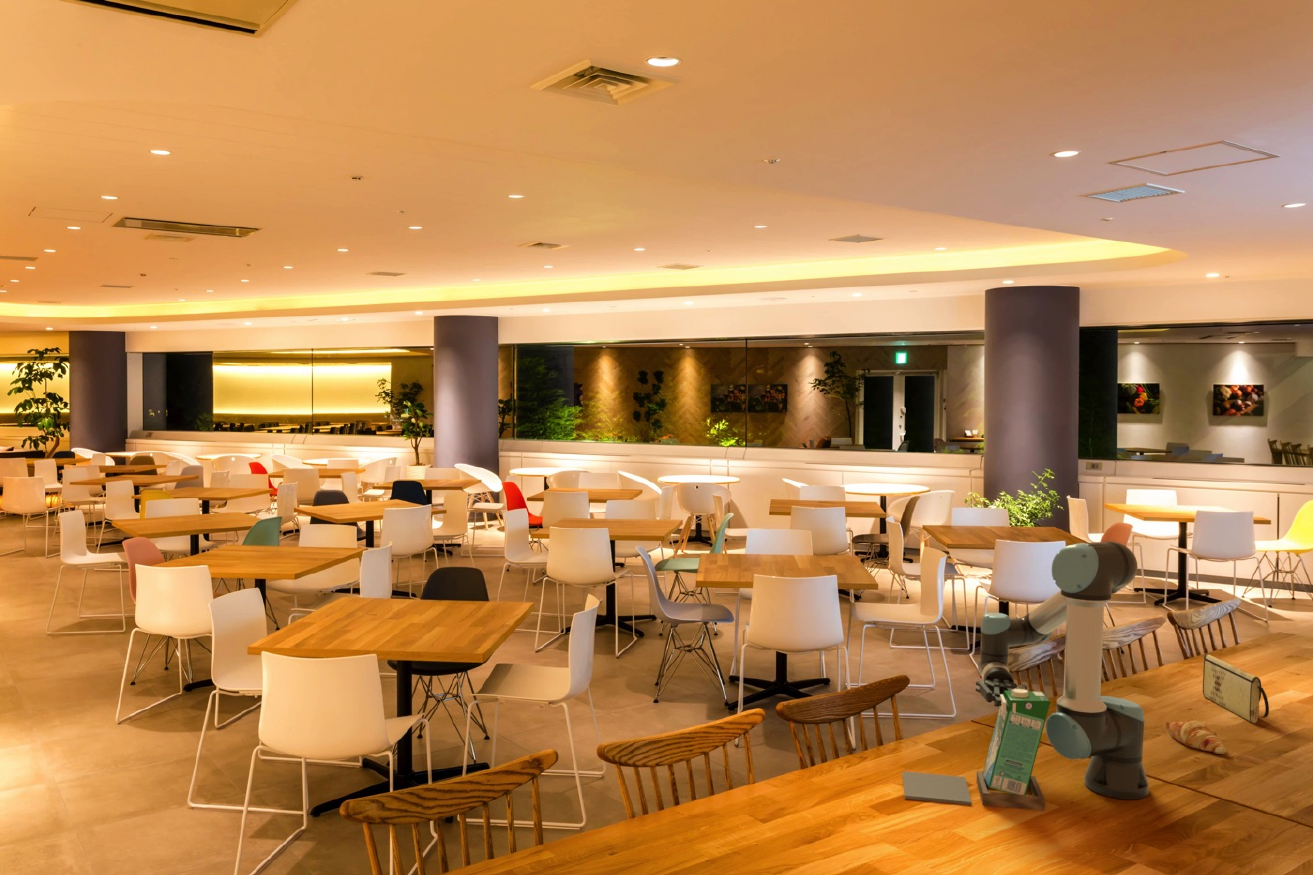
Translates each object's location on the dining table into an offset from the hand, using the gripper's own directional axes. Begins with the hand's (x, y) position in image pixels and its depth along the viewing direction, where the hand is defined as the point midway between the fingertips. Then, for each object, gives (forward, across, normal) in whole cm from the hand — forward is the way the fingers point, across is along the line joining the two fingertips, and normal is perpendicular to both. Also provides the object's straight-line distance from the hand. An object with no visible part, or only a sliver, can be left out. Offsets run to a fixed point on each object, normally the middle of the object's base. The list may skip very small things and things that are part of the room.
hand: (1009, 708), depth 244 cm
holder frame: (-5, -2, -24) cm, 25 cm away
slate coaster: (-5, +16, -24) cm, 30 cm away
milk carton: (-3, 0, -21) cm, 22 cm away
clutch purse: (-95, -82, -25) cm, 128 cm away
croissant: (-58, -60, -25) cm, 87 cm away
